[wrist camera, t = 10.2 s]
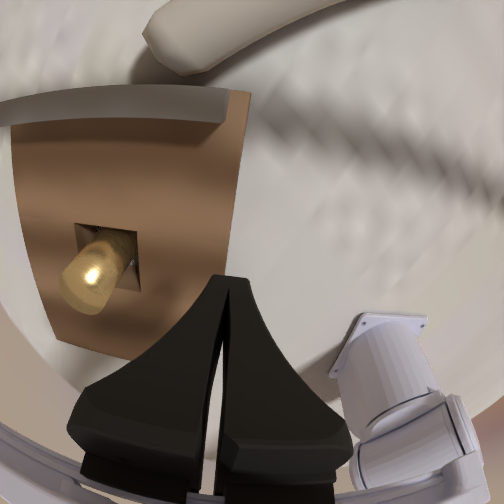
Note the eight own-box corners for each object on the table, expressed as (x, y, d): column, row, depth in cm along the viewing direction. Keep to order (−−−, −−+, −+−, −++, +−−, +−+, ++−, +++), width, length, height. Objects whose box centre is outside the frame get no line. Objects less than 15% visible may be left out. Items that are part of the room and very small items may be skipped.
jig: (215, 350, 26) (210, 394, 22) (68, 319, 25) (48, 353, 21) (251, 93, 15) (249, 91, 11) (37, 95, 14) (-9, 104, 10)
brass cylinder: (142, 257, 21) (107, 320, 15) (106, 250, 21) (64, 307, 15) (142, 219, 19) (100, 276, 13) (104, 213, 19) (53, 265, 13)
